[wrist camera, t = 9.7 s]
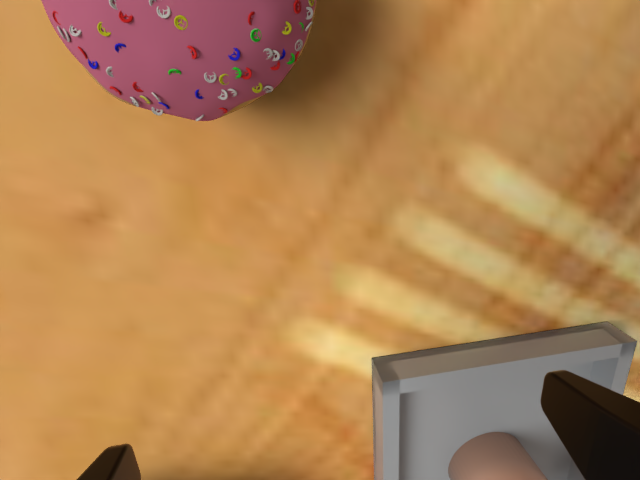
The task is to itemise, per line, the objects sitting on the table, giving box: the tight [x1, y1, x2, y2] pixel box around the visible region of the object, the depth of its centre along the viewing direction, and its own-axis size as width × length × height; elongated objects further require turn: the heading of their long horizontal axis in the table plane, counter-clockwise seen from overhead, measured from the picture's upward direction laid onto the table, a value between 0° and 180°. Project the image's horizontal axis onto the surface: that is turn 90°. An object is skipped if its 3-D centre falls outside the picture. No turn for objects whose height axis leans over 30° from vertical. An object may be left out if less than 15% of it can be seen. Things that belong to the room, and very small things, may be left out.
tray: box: [372, 322, 637, 480], centre depth 28 cm, size 16×20×2 cm
